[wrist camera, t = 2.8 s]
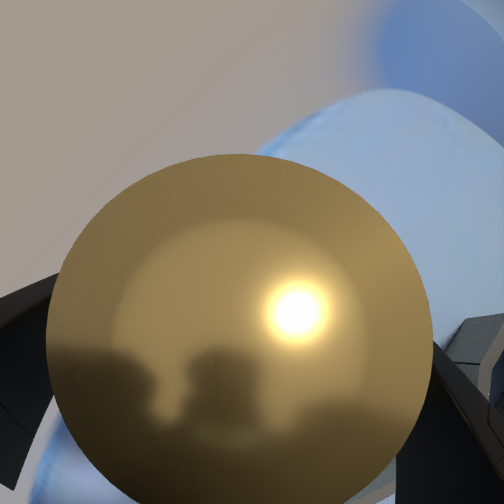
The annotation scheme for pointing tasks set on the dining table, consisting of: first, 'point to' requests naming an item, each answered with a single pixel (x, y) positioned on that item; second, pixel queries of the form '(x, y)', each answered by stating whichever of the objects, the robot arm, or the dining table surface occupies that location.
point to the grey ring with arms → (473, 366)
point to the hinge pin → (239, 337)
